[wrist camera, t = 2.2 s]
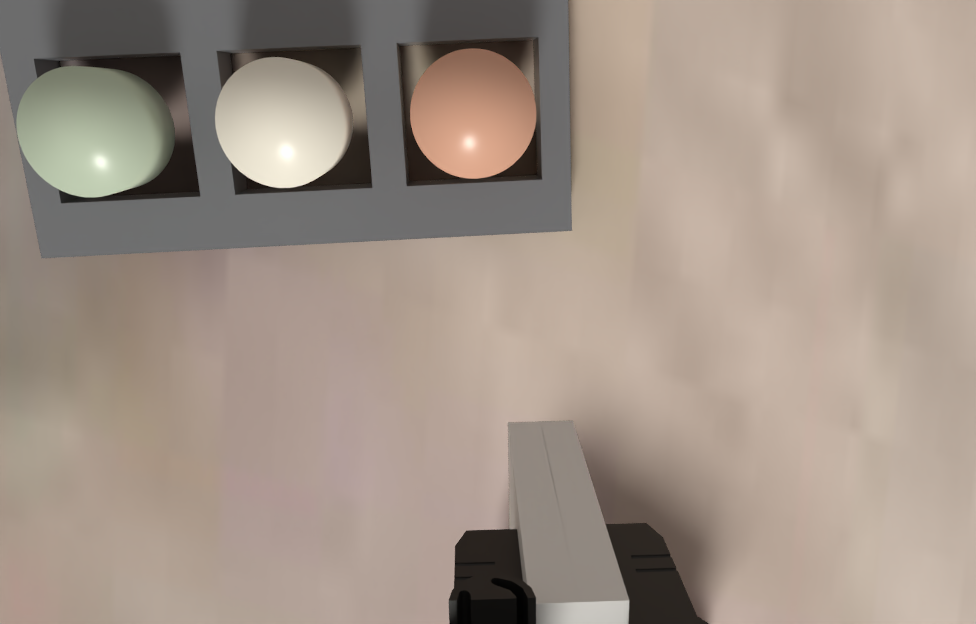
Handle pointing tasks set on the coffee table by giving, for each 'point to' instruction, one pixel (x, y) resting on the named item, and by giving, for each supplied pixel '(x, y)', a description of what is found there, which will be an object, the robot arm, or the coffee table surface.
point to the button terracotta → (473, 113)
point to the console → (308, 209)
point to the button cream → (283, 121)
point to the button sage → (94, 130)
